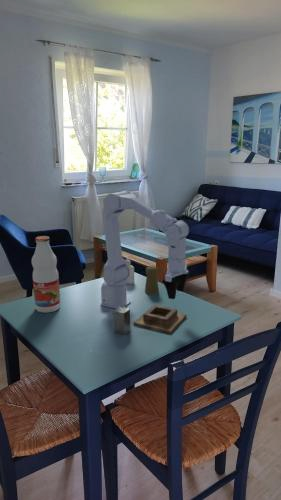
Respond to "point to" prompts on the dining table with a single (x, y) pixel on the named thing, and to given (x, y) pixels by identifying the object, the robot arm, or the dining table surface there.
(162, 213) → the robot arm
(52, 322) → the dining table surface
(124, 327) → the metal pin
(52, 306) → the fruit juice
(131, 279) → the eye dropper bottle
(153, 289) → the cork
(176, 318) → the socket holder
